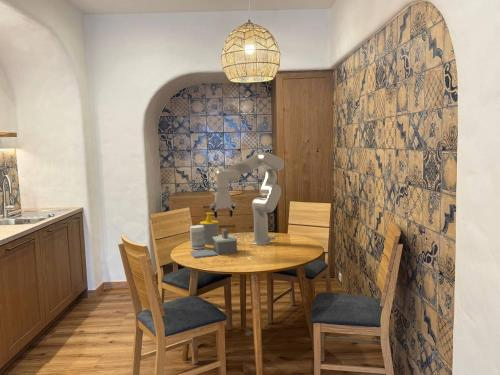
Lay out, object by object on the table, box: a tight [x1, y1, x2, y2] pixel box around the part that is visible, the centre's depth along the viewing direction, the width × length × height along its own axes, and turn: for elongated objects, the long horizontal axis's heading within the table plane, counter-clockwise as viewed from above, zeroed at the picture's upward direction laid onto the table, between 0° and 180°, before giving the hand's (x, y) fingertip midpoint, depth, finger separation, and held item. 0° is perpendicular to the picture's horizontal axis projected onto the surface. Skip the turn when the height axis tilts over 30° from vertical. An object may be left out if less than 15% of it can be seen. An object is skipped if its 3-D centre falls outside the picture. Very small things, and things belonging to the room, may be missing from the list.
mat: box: [190, 248, 218, 259], centre depth 265 cm, size 14×14×1 cm
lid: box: [212, 228, 239, 243], centre depth 268 cm, size 13×13×7 cm
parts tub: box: [213, 240, 238, 256], centre depth 269 cm, size 12×12×8 cm
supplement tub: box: [189, 224, 206, 250], centre depth 281 cm, size 10×10×15 cm
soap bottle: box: [199, 212, 220, 245], centre depth 296 cm, size 13×13×21 cm
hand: (223, 217), depth 267 cm, fingers open, 9 cm apart
